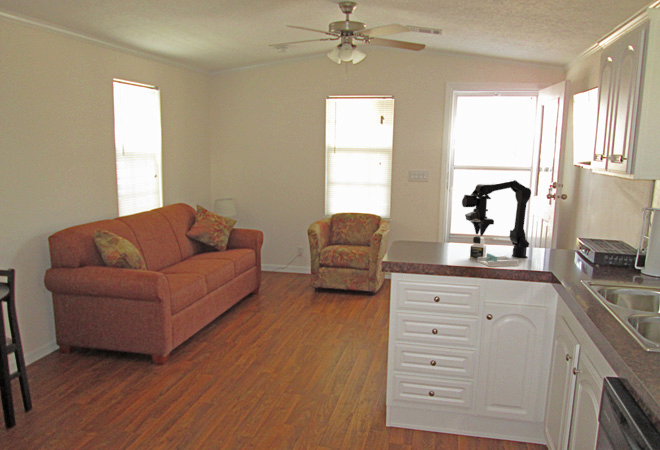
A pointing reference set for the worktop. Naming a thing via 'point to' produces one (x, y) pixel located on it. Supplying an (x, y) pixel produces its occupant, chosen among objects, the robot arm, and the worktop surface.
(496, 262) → the lane
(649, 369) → the worktop surface
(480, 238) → the medicine bottle
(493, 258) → the pusher
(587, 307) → the worktop surface
